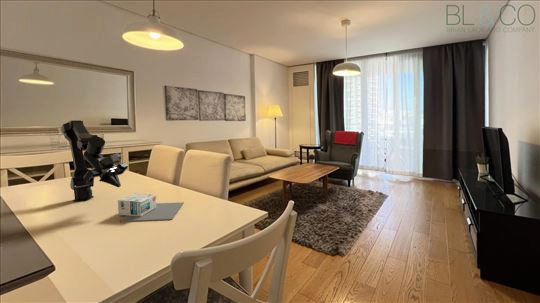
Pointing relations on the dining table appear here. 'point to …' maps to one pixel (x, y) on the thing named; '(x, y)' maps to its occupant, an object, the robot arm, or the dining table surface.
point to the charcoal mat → (157, 213)
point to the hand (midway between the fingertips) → (119, 186)
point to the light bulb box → (137, 204)
